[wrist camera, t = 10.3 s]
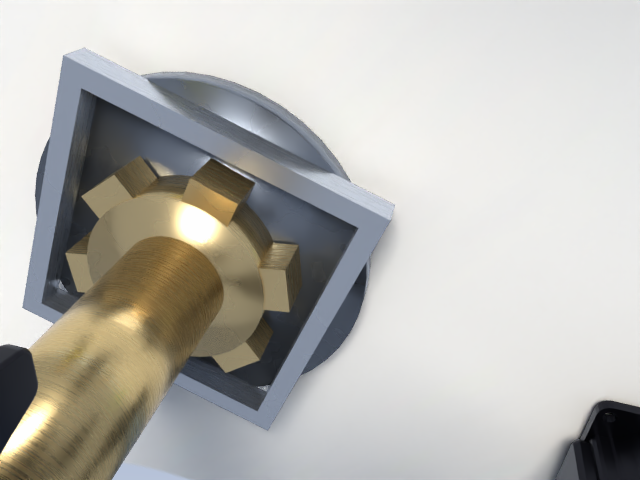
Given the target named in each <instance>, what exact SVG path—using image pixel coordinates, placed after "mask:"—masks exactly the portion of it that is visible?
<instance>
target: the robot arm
mask: <svg viewBox="0 0 640 480" xmlns="http://www.w3.org/2000/svg"><path fill="white" fill-rule="evenodd" d="M37 390H38V379H37V375H36V370H35V366H34V361H33V356H32V353H31V352H30V351H29V350H28V349H26V348H22V347H18V346H15V345H10V344H6V345H2V346H0V454H1V453H2V451H3V449H4V448H5V446H6V444H7V443H8V441H9V439H10V438H11V436H12V434H13V433H14V431H15V429H16V428H17V426H18V424H19V423H20V421H21V419H22V418H23V416H24V415H25V413H26V411H27V410H28V408H29V406H30V405H31V403H32V401H33V400H34V398H35V396H36V393H37ZM606 413H613V414H610V415H606ZM555 480H640V407H636V406H632V405H627V404H623V403H619V402H614V401H602V402H600V403H598V404H597V405H596V406H595V408H594V410H593V412H592V414H591V417H590V419H589V421H588V423H587V425H586V427H585V429H584V431H583V434H582V436H581V438H580V440H579V439H577V440H576V441H574V442H573V443H572V444H571V446H570V449H569V451H568V453H567V455H566V457H565V459H564V462H563V464H562V466H561V468H560V470H559V472H558V475H557V477H556V479H555Z"/></svg>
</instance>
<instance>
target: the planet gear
mask: <svg viewBox="0 0 640 480" xmlns="http://www.w3.org/2000/svg"><path fill="white" fill-rule="evenodd" d="M254 185H255V182H253V181H251V180H250V179H248V178H246V177H244V176H242V175H241V174H239V173H237V172H235V171H234V170H232V169H230V168H228V167H227V166H225V165H223V164H221V163H219V162H218V161H216V160H214V159H212V158H211V159H210V160H209V161H208V162H207V163H206V164H205V165H203V166H202V167H201V168H200V169H199V170H198V171H197V172H196V173H195V174H194V175H193V176H185V175H167V176H161V177H156V176H155V175H154V173H153V172H152V171H151V169H150V168H149V167H148V165H147V164H146V163H145V162H144V160H143V159H142V158H141V156H138V157H137V158H135V159H134V160H132V161H131V162H129V163H128V164H126V165H125V166H123V167H122V168H120V169H119V170H117V171H116V172H114V173H113V174H111V175H110V176H108V177H107V178H105V179H104V180H103V181H101V182H100V183H99V184H97V185H96V186H95V187H93V188H92V189H91V190H89V191H88V192H86V193H85V194H84V195H82V196H81V197H82V198H83V199H84V201H85V202H86V203H87V204H88V205H89V207H90V208H91V209H92V210H93V212H94V213H95V214H96V215H97V216H98V218H99V220H98V222H97V223H96V225H95V226H94V228H93V230H92V231H91V232H89V233H88V234H87V235H86V236H85V237H83V238H82V239H81V240H80V241H79V242H78V243H76V244H75V245H74V246H73V247H72V248H70V249H69V250H68V251H67V252H66V253H65V254H66V257H67V260H68V263H69V266H70V270H71V273H72V276H73V279H74V282H75V285H76V289H77V292H84V293H85V294H84V295H83V296H82V297H81V298H80V299H79V300H78V301H77V302H76V303H75V304H74V305H73V306H72V307H71V308H70V309H69V310H68V311H67V312H66V313H65V314H64V315H63V316H62V317H61V318H60V319H58V320H57V321H56V322H55V323H54V324H53V325H52V326H51V327H50V328H49V329H48V330H47V331H46V332H45V333H44V334H43V335H42V336H41V337H40V338H39V339H38V340H37V341H36V342H35V343H34V344H33V345H32V346H31V347H30V348H29V349H28V350H29V351H30V352H31V353H32V356H33V361H34V366H35V370H36V375H37V379H38V390H37V393H36V396H35V398H34V400H33V401H32V403H31V405H30V406H29V408H28V410H27V411H26V413H25V415H24V416H23V418H22V419H21V421H20V423H19V424H18V426H17V428H16V429H15V431H14V433H13V434H12V436H11V438H10V439H9V441H8V443H7V444H6V446H5V448H4V449H3V451H2V453H1V454H0V480H112V478H113V477H114V475H115V474H116V472H117V470H118V469H119V467H120V466H121V464H122V463H123V461H124V460H125V458H126V456H127V455H128V453H129V452H130V450H131V449H132V447H133V445H134V444H135V442H136V441H137V439H138V438H139V436H140V434H141V433H142V431H143V430H144V428H145V427H146V425H147V424H148V422H149V420H150V419H151V417H152V416H153V414H154V413H155V411H156V409H157V408H158V406H159V405H160V403H161V402H162V400H163V399H164V397H165V395H166V394H167V392H168V391H169V389H170V388H171V386H172V384H173V383H174V381H175V380H176V378H177V377H178V375H179V373H180V372H181V370H182V369H183V367H184V366H185V364H186V363H187V361H188V359H189V358H190V356H194V357H207V356H212V357H213V358H214V359H215V361H216V362H217V363H218V364H219V365H220V367H221V368H222V369H223V370H224V372H225V373H227V372H230V371H232V370H235V369H238V368H240V367H243V366H246V365H248V364H251V363H254V362H256V361H259V360H260V359H261V357H262V355H263V353H264V351H265V348H266V346H267V344H268V342H269V340H270V338H271V336H272V334H273V332H274V331H273V330H272V329H271V327H270V326H269V325H268V323H267V322H266V321H265V319H264V318H263V317H262V316H263V314H264V312H265V310H271V311H282V312H290V310H291V308H292V306H293V304H294V302H295V299H296V297H297V295H298V293H299V291H300V289H301V287H302V276H301V264H300V253H299V245H294V244H280V243H274V241H273V239H272V237H271V235H270V233H269V231H268V229H267V228H266V226H265V225H264V223H263V221H262V220H261V219H260V218H259V216H258V215H257V214H256V213H255V212H254V211H253V210H252V209H251V208H250V207H249V206H248V205H247V204H246V201H247V199H248V197H249V195H250V193H251V191H252V189H253V187H254Z"/></svg>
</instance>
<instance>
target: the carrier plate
mask: <svg viewBox="0 0 640 480" xmlns="http://www.w3.org/2000/svg"><path fill="white" fill-rule="evenodd" d="M138 156H141V158H142V159H143V160H144V162H145V163H146V164H147V165H148V167H149V168H150V169H151V171H152V172H153V173H154V175H155V176H156V177H161V176H167V175H185V176H193V175H194V174H195V173H196V172H197V171H198V170H199V169H200V168H201V167H202V166H203V165H205V164H206V163H207V162H208V161H209V160H210V159H211V158H212V159H214V160H216V161H218V162H219V163H221V164H223V165H225V166H227V167H228V168H230V169H232V170H234V171H235V172H237V173H239V174H241V175H242V176H244V177H246V178H248V179H250V180H251V181H253V182H255V185H254V187H253V189H252V191H251V193H250V195H249V197H248V199H247V201H246V204H247V205H248V206H249V207H250V208H251V209H252V210H253V211H254V212H255V213H256V214H257V215H258V216H259V218H260V219H261V220H262V221H263V223H264V225H265V226H266V228H267V229H268V231H269V233H270V235H271V237H272V239H273V241H274V243H280V244H294V245H299V253H300V264H301V276H302V287H301V289H300V291H299V293H298V295H297V297H296V299H295V302H294V304H293V306H292V308H291V310H290V312H282V311H271V310H265V312H264V314H263V316H262V317H263V318H264V319H265V321H266V322H267V323H268V325H269V326H270V327H271V329H272V330H273V331H274V332H273V334H272V336H271V338H270V340H269V342H268V344H267V346H266V348H265V351H264V353H263V355H262V357H261V359H260V360H259V361H256V362H254V363H251V364H248V365H246V366H243V367H240V368H238V369H235V370H232V371H230V372H227V373H225V372H224V370H223V369H222V368H221V367H220V365H219V364H218V363H217V362H216V361H215V359H214V358H213V357H212V356H207V357H194V356H190V358H189V359H188V361H187V363H186V364H185V366H184V367H183V369H182V370H181V372H180V373H179V375H178V377H177V378H176V380H175V381H174V384H176V385H178V386H180V387H182V388H184V389H186V390H188V391H190V392H192V393H194V394H196V395H198V396H200V397H202V398H204V399H206V400H208V401H210V402H212V403H214V404H216V405H218V406H220V407H222V408H224V409H226V410H228V411H230V412H232V413H234V414H236V415H238V416H240V417H242V418H244V419H246V420H248V421H250V422H252V423H254V424H256V425H258V426H260V427H262V428H264V429H266V430H268V429H269V428H270V426H271V424H272V422H273V421H274V419H275V417H276V416H277V414H278V412H279V410H280V409H281V407H282V405H283V404H284V402H285V400H286V399H287V397H288V395H289V393H290V392H291V390H292V388H293V387H294V385H295V383H296V381H297V380H298V378H299V376H300V375H302V374H304V373H306V372H308V371H310V370H312V369H314V368H315V367H316V366H318V365H319V364H321V363H322V362H323V361H325V360H326V359H327V358H328V357H329V356H330V355H332V354H333V353H334V352H335V351H336V350H337V349H338V348H339V347H340V345H341V344H342V343H343V341H344V340H345V338H346V337H347V336H348V334H349V333H350V331H351V329H352V327H353V325H354V323H355V321H356V319H357V317H358V315H359V311H360V308H361V305H362V302H363V299H364V295H365V292H366V289H367V285H368V279H369V273H370V266H371V262H370V255H371V253H372V251H373V250H374V248H375V246H376V245H377V243H378V241H379V239H380V238H381V236H382V234H383V233H384V231H385V229H386V227H387V226H388V224H389V222H390V221H391V217H392V214H393V210H394V207H395V204H393V203H391V202H389V201H387V200H385V199H383V198H381V197H379V196H377V195H375V194H373V193H371V192H369V191H367V190H365V189H363V188H361V187H359V186H357V185H355V184H353V183H351V181H350V179H349V178H348V176H347V174H346V173H345V171H344V170H343V168H342V166H341V165H340V163H339V162H338V160H337V159H336V158H335V156H334V155H333V154H332V153H331V151H330V150H329V149H328V148H327V146H326V145H325V144H324V143H323V142H322V140H321V139H320V138H319V137H318V136H317V135H316V134H314V133H313V132H312V131H311V130H310V129H309V128H308V127H307V126H306V125H305V124H304V123H303V122H302V121H301V120H299V119H298V118H297V117H295V116H294V115H293V114H291V113H290V112H289V111H287V110H286V109H285V108H283V107H282V106H281V105H279V104H277V103H275V102H274V101H272V100H270V99H269V98H267V97H265V96H263V95H262V94H260V93H258V92H256V91H253V90H251V89H249V88H246V87H244V86H242V85H240V84H237V83H235V82H231V81H228V80H224V79H221V78H217V77H214V76H210V75H203V74H196V73H190V72H159V73H152V74H145V75H138V74H136V73H134V72H132V71H130V70H128V69H126V68H124V67H122V66H120V65H118V64H116V63H114V62H112V61H110V60H108V59H106V58H104V57H102V56H100V55H98V54H96V53H94V52H92V51H90V50H88V49H86V48H82V49H79V50H77V51H74V52H71V53H68V54H66V55H63V61H62V67H61V74H60V80H59V86H58V92H57V98H56V104H55V111H54V117H53V123H52V129H51V135H50V138H49V140H48V142H47V144H46V147H45V149H44V151H43V154H42V156H41V159H40V164H39V168H38V172H37V178H36V191H35V199H36V214H37V221H36V228H35V234H34V240H33V246H32V252H31V258H30V265H29V271H28V277H27V283H26V289H25V295H24V302H23V308H24V309H26V310H28V311H30V312H32V313H34V314H36V315H38V316H40V317H42V318H44V319H46V320H48V321H50V322H52V323H55V322H56V321H57V320H58V319H60V318H61V317H62V316H63V315H64V314H65V313H66V312H67V311H68V310H69V309H70V308H71V307H72V306H73V305H74V304H75V303H76V302H77V301H78V300H79V299H80V298H81V297H82V296H83V295H84V294H85V293H84V292H77V289H76V285H75V282H74V279H73V276H72V273H71V270H70V266H69V263H68V260H67V257H66V254H65V253H66V252H67V251H68V250H69V249H70V248H72V247H73V246H74V245H75V244H76V243H78V242H79V241H80V240H81V239H82V238H83V237H85V236H86V235H87V234H88V233H89V232H91V231H92V230H93V228H94V226H95V225H96V223H97V222H98V220H99V218H98V216H97V215H96V214H95V213H94V212H93V210H92V209H91V208H90V207H89V205H88V204H87V203H86V202H85V201H84V199H83V198H82V197H81V196H82V195H84V194H85V193H86V192H88V191H89V190H91V189H92V188H93V187H95V186H96V185H97V184H99V183H100V182H101V181H103V180H104V179H105V178H107V177H108V176H110V175H111V174H113V173H114V172H116V171H117V170H119V169H120V168H122V167H123V166H125V165H126V164H128V163H129V162H131V161H132V160H134V159H135V158H137V157H138ZM60 280H61V282H62V284H63V285H64V287H65V288H66V290H67V291H68V293H67V292H65V291H63V290H61V289H59V288H58V287H59V282H60ZM266 385H270V386H269V388H268V390H267V391H266V392H265V391H263V390H261V389H259V388H257V387H258V386H266Z"/></svg>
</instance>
